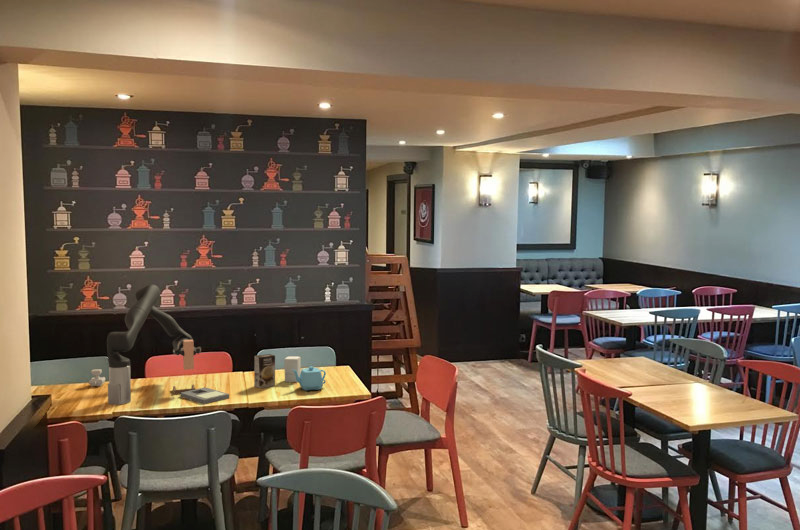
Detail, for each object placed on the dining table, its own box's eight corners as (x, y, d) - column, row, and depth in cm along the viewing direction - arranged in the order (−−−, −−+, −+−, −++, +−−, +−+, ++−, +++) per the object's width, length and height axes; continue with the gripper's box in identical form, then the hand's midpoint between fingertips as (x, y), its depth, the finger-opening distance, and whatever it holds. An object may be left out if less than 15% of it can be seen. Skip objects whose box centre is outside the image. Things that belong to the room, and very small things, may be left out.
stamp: (102, 387, 331) (101, 371, 331) (88, 388, 330) (87, 372, 329) (106, 383, 340) (105, 367, 339) (92, 384, 338) (92, 368, 338)
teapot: (288, 387, 334) (288, 365, 334) (323, 384, 340) (323, 363, 340) (293, 393, 323) (293, 370, 322) (328, 390, 329) (328, 368, 328)
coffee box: (259, 388, 331) (259, 357, 330) (254, 386, 336) (253, 355, 335) (275, 385, 337) (275, 355, 336) (269, 383, 342) (269, 353, 341)
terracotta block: (193, 369, 320) (193, 341, 320) (184, 369, 319) (184, 341, 318) (192, 367, 325) (192, 339, 324) (183, 367, 323) (183, 340, 322)
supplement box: (301, 379, 352) (301, 356, 351) (297, 382, 345) (297, 359, 344) (287, 378, 353) (287, 355, 352) (284, 382, 346) (284, 358, 345)
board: (229, 398, 313) (229, 393, 312) (204, 404, 302) (203, 399, 302) (205, 391, 325) (205, 386, 325) (180, 396, 315) (180, 392, 314)
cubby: (195, 392, 322) (195, 388, 322) (174, 394, 319) (174, 390, 318) (193, 388, 331) (193, 384, 331) (172, 390, 327) (172, 386, 327)
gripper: (170, 341, 331) (173, 347, 315) (199, 339, 337) (204, 345, 321) (171, 355, 332) (173, 362, 316) (200, 353, 337) (204, 360, 322)
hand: (189, 353), depth 319 cm, fingers closed on terracotta block, 4 cm apart
